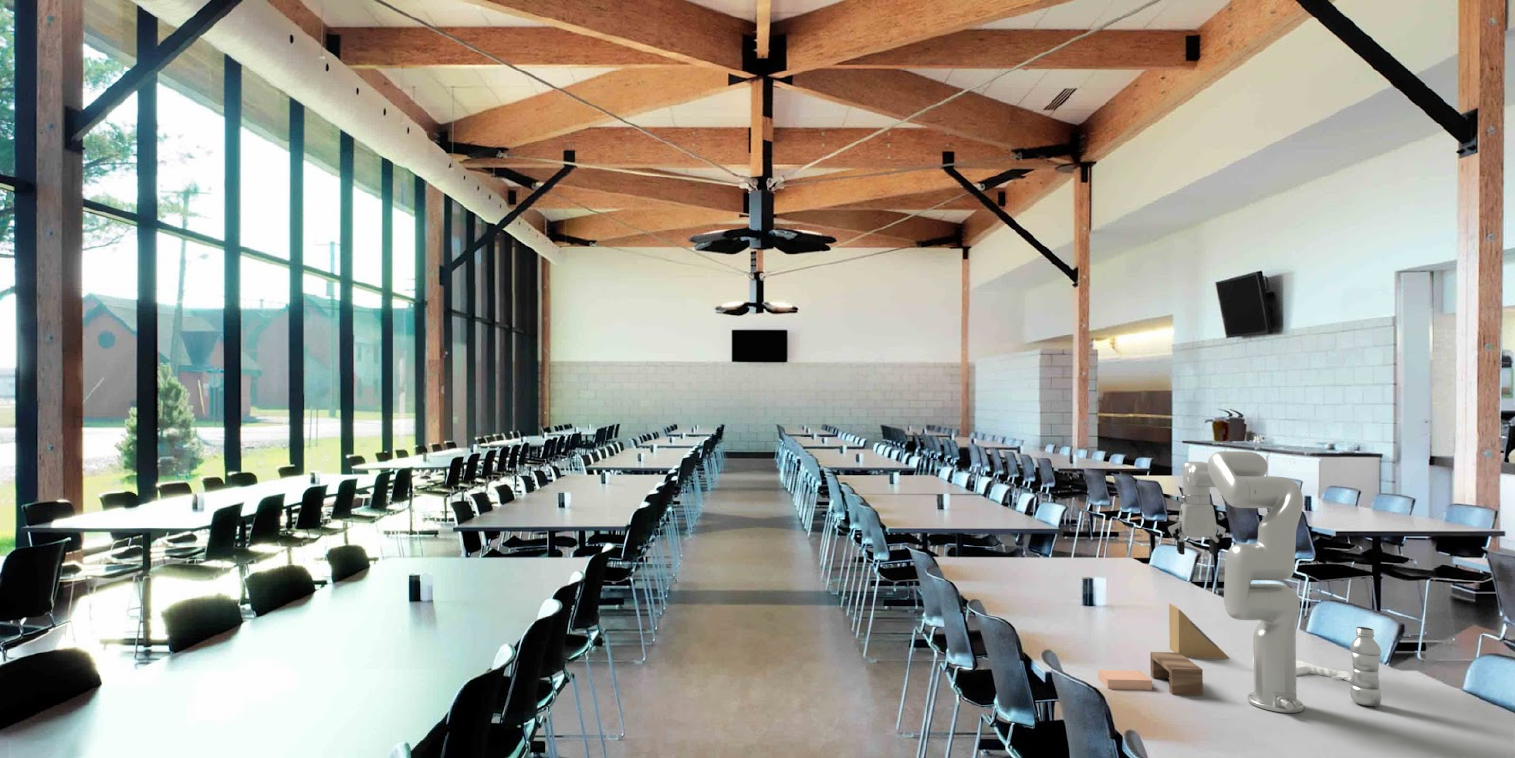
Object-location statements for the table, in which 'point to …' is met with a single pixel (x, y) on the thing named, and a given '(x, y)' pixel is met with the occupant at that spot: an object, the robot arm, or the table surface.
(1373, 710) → the table surface
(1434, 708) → the table surface
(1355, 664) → the plastic bottle
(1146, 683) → the peach flat block
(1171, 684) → the wooden bridge block
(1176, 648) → the sandwich container
